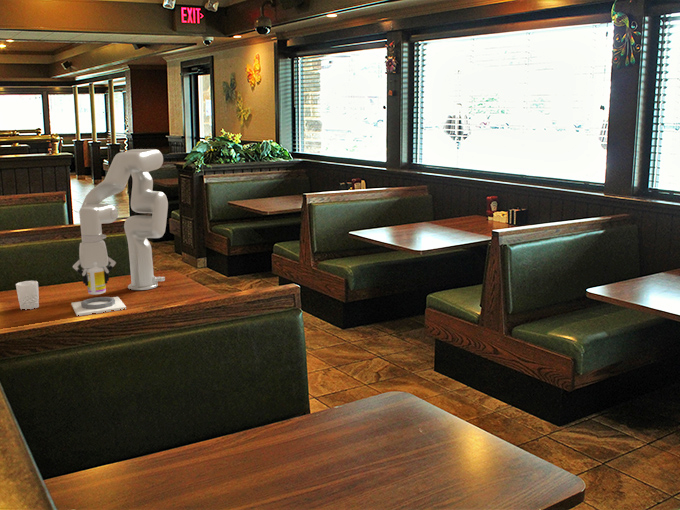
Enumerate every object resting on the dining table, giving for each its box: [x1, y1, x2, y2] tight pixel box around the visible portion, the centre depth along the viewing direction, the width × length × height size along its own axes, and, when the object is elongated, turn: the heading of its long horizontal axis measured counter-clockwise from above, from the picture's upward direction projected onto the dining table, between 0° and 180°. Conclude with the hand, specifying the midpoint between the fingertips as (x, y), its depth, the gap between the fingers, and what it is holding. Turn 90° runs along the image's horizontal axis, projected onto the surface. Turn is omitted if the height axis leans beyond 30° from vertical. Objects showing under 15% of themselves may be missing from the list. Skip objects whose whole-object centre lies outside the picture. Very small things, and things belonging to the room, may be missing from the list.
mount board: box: [71, 296, 127, 317], centre depth 261 cm, size 18×18×2 cm
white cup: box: [15, 280, 40, 311], centre depth 261 cm, size 8×8×10 cm
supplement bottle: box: [86, 262, 107, 295], centre depth 258 cm, size 7×7×13 cm
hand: (96, 283), depth 259 cm, fingers closed on supplement bottle, 6 cm apart
